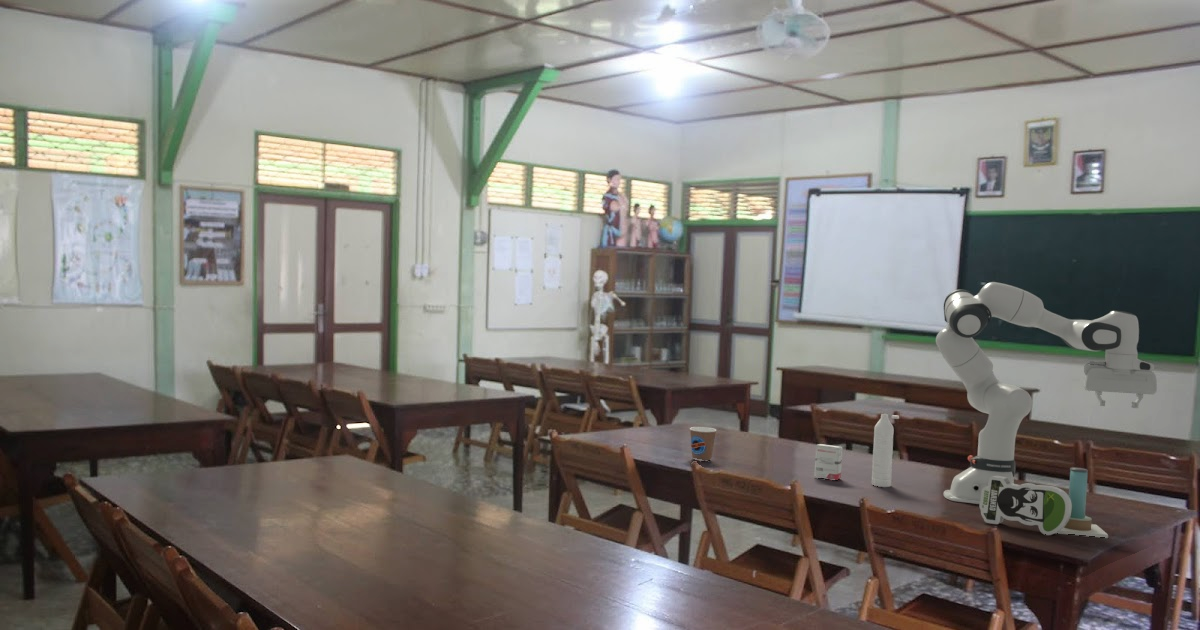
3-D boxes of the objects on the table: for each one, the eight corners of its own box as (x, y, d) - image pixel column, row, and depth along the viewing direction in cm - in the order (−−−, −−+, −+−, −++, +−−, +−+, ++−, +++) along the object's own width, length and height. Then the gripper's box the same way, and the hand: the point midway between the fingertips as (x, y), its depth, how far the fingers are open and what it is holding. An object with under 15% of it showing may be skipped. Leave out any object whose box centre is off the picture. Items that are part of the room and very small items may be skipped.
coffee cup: (683, 459, 362) (684, 428, 361) (698, 456, 369) (699, 426, 369) (705, 463, 355) (706, 432, 355) (720, 460, 363) (721, 429, 362)
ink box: (841, 479, 336) (843, 446, 335) (837, 481, 331) (838, 447, 331) (818, 475, 340) (819, 443, 340) (813, 478, 336) (815, 444, 336)
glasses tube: (1069, 517, 272) (1072, 469, 272) (1065, 514, 277) (1068, 466, 276) (1086, 519, 271) (1089, 471, 271) (1082, 515, 276) (1085, 468, 275)
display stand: (1054, 533, 270) (1055, 519, 270) (1044, 523, 282) (1045, 509, 281) (1107, 538, 267) (1108, 524, 266) (1096, 527, 278) (1096, 514, 278)
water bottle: (867, 484, 328) (871, 413, 327) (878, 482, 332) (882, 412, 331) (889, 489, 321) (893, 416, 320) (900, 487, 325) (904, 415, 324)
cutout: (978, 475, 281) (1067, 483, 264) (982, 474, 283) (1071, 482, 266) (979, 526, 281) (1069, 537, 264) (983, 524, 283) (1072, 536, 266)
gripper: (1087, 361, 294) (1084, 405, 295) (1160, 365, 289) (1157, 410, 290) (1082, 360, 300) (1079, 403, 301) (1153, 364, 296) (1150, 408, 296)
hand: (1118, 406), depth 295 cm, fingers open, 8 cm apart
